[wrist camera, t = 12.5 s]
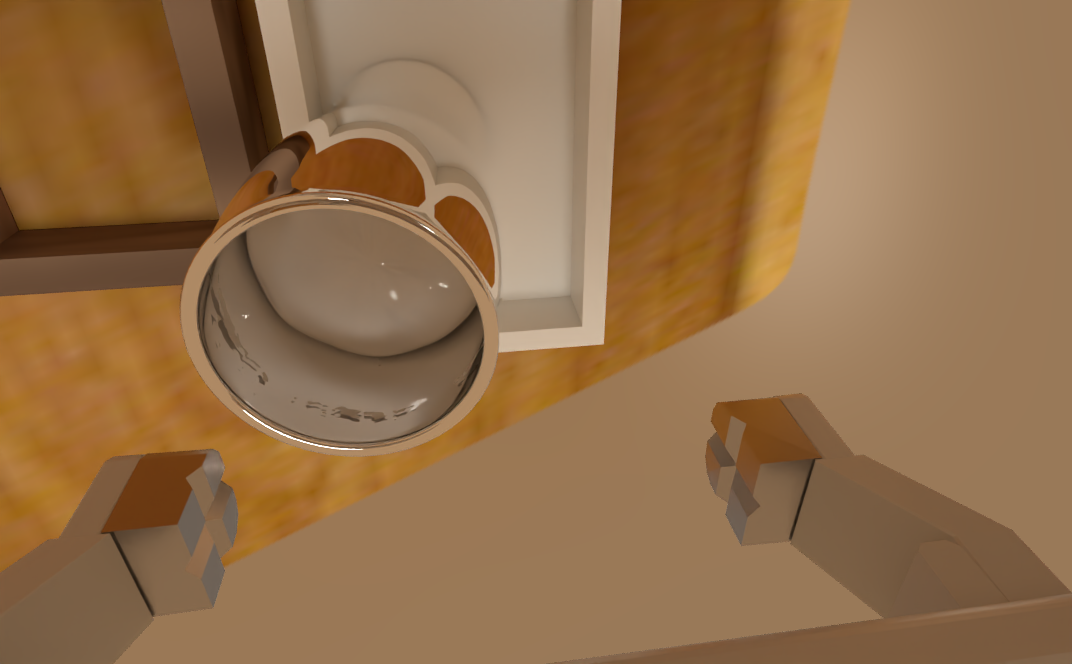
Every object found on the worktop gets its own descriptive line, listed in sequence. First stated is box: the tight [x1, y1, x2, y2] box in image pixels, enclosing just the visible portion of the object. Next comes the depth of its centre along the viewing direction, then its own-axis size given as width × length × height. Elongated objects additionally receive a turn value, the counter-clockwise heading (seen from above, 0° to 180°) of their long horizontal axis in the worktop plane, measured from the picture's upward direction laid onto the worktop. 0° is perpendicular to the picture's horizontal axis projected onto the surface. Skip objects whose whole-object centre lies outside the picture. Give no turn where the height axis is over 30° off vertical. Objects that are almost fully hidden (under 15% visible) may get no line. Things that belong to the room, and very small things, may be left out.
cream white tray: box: [255, 0, 622, 352], centre depth 26 cm, size 16×12×4 cm
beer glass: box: [180, 60, 504, 456], centre depth 20 cm, size 7×7×15 cm
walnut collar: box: [0, 0, 269, 296], centre depth 24 cm, size 12×12×3 cm
